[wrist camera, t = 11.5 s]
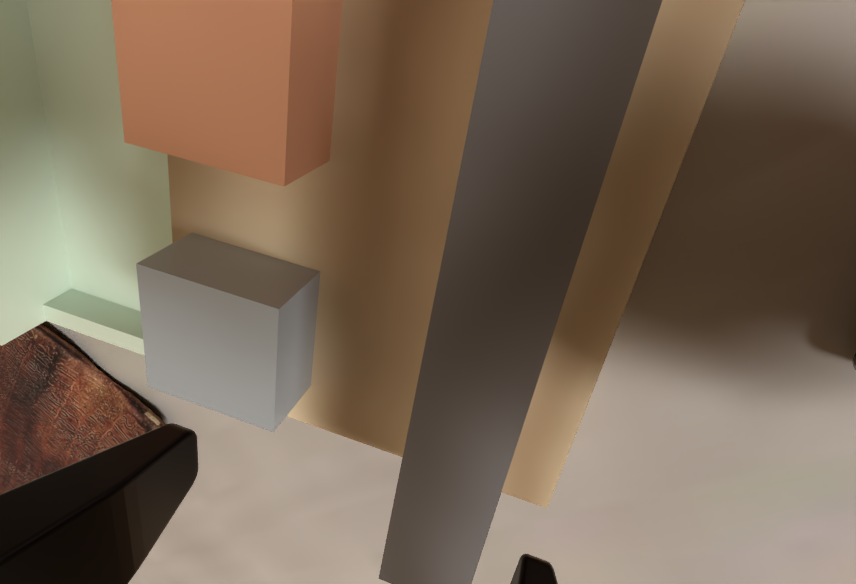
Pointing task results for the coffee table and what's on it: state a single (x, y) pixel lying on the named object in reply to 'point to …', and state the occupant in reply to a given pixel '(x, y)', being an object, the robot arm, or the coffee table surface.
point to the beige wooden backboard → (431, 209)
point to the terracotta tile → (230, 81)
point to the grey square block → (228, 328)
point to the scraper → (508, 263)
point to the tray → (72, 177)
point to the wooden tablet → (58, 408)
